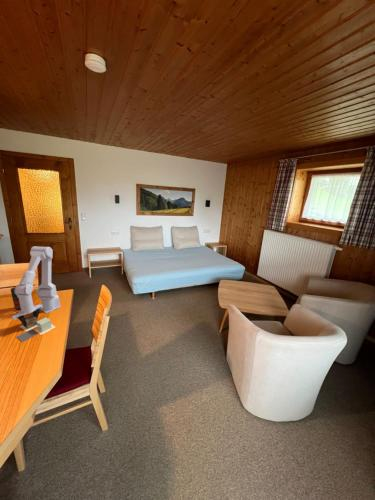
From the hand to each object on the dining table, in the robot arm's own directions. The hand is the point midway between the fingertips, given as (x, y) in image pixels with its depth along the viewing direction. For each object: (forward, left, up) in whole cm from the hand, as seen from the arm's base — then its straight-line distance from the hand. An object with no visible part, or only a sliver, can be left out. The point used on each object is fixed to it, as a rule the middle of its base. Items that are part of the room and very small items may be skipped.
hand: (30, 323), depth 118 cm
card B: (-3, +10, -1) cm, 10 cm away
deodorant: (-5, -25, -2) cm, 26 cm away
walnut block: (0, 0, -1) cm, 1 cm away
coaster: (+6, +8, -1) cm, 10 cm away
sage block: (-3, +10, -1) cm, 10 cm away
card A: (0, 0, -1) cm, 1 cm away
